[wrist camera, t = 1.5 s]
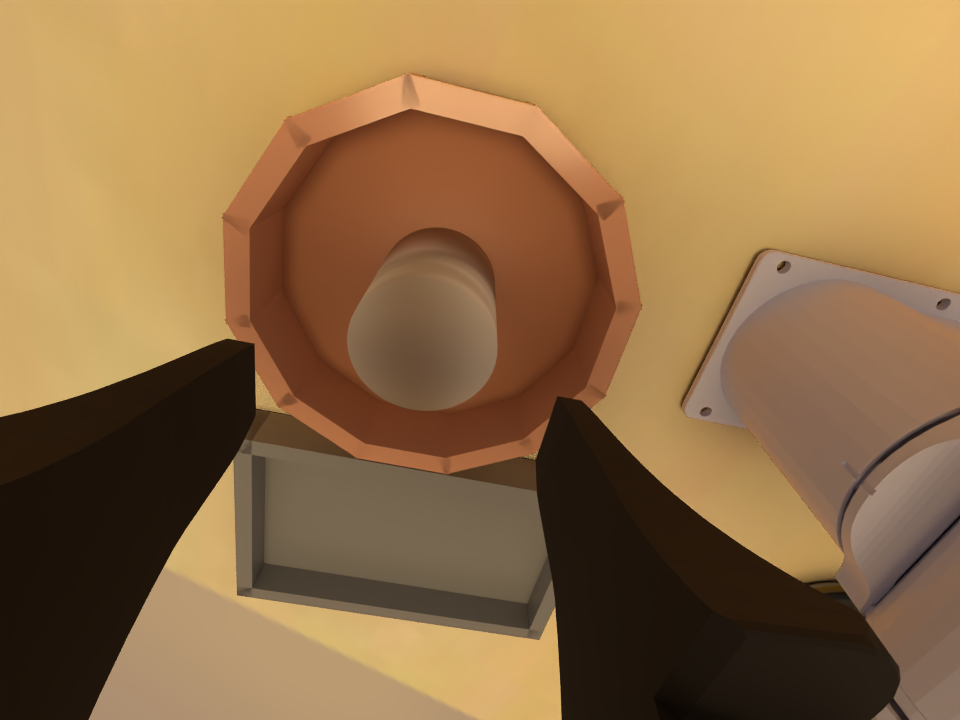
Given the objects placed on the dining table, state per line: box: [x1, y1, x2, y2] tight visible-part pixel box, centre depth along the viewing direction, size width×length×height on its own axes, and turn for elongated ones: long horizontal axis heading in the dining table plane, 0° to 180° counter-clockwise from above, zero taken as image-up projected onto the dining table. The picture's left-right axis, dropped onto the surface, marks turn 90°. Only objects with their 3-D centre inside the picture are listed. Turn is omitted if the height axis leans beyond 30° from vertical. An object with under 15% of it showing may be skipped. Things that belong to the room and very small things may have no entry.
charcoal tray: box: [234, 409, 555, 640], centre depth 26 cm, size 17×11×2 cm, turn 77°
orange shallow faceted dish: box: [222, 73, 642, 474], centre depth 18 cm, size 14×14×4 cm
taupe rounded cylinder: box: [347, 227, 498, 411], centre depth 17 cm, size 4×4×6 cm
